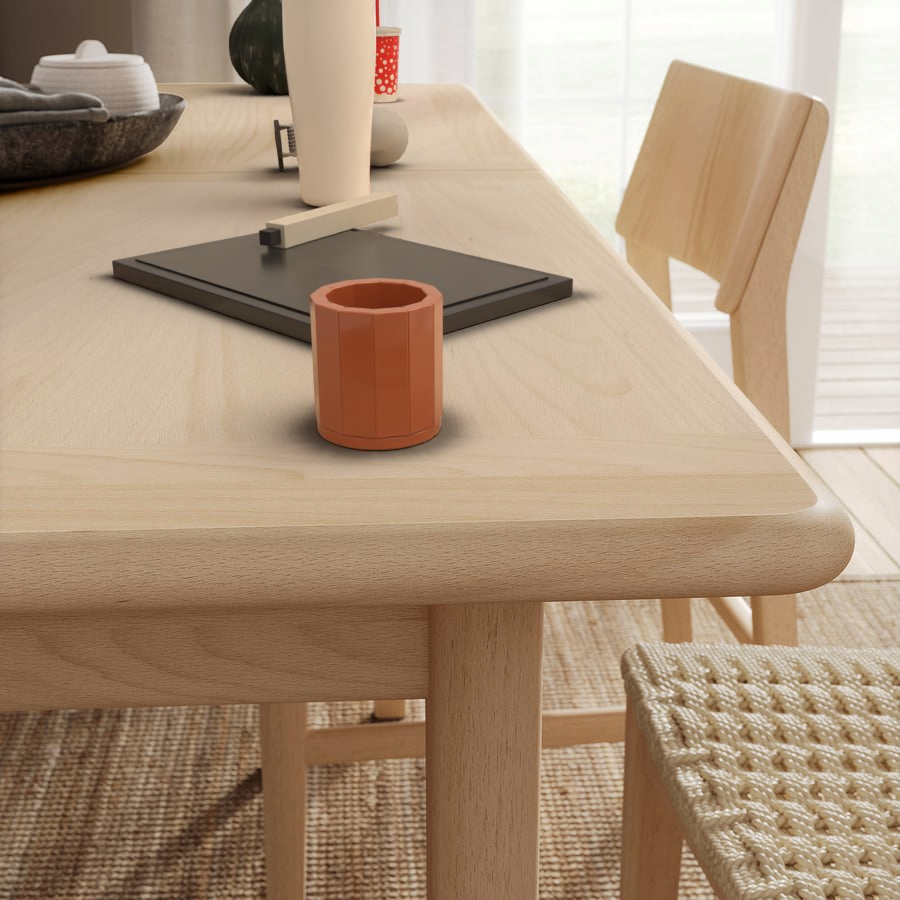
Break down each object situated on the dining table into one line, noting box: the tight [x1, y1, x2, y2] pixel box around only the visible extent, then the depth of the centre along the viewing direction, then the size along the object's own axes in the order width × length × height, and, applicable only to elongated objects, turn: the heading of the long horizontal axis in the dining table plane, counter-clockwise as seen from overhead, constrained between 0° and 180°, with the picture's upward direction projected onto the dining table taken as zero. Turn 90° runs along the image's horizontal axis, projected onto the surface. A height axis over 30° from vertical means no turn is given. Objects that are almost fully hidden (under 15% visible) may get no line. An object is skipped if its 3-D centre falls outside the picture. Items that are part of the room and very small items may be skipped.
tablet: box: [111, 228, 574, 344], centre depth 67 cm, size 22×16×1 cm
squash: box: [228, 0, 289, 95], centre depth 162 cm, size 14×15×15 cm
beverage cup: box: [373, 0, 403, 104], centre depth 151 cm, size 6×6×14 cm
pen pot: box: [310, 278, 444, 451], centre depth 46 cm, size 5×5×6 cm
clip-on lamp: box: [273, 107, 409, 170], centre depth 106 cm, size 12×6×18 cm
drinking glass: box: [282, 0, 376, 208], centre depth 87 cm, size 7×7×15 cm
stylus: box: [258, 191, 399, 249], centre depth 76 cm, size 2×2×13 cm
